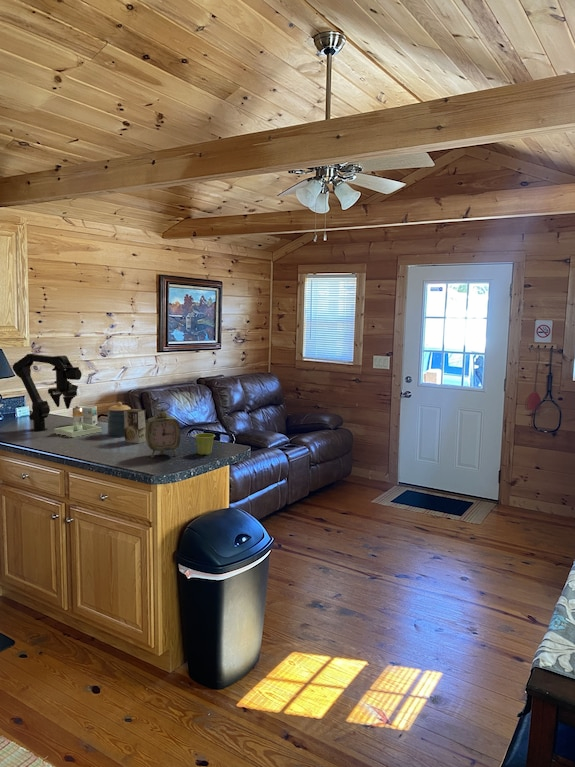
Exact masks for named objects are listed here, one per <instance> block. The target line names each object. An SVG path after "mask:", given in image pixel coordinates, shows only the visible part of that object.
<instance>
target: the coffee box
mask: <svg viewBox="0 0 575 767" xmlns="http://www.w3.org/2000/svg"><path fill="white" fill-rule="evenodd" d="M146 411H147V410H146V409H137V408H131V409H129V410H125V411H124V426H125V436H124V442H126V443H133V444H142V443H145V442H147V441H146V434H145V431H146V422H147V417H146V416H147V413H146Z"/></svg>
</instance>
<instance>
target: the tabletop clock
mask: <svg viewBox="0 0 575 767" xmlns="http://www.w3.org/2000/svg"><path fill="white" fill-rule="evenodd" d="M160 404H161V405H162V404H166V405H167V406H168V408H165V409H164V407H161V408H160V409H158V408H157V406H158V405H160ZM170 407H171V405H170V403H168V402H166V401H158V402H157V403H155V405H154V410H155V411H157V412H158V413H156V416H153V417H149V418H148V419H146V431H145V434H146V441H145V442H146V443H147V446H148V447H149V449H150V450H152V454H150V458H152V459H153V458H154V457H155V455H154V454H155V451H156V452H157V451H158V452H159V451H160V452H159V454H160V455H161V456H162V455H164V451H169V450H172V452H173V456H175V457H176V456H178V452H177V451H176V450H175V449H177V448H179V445H180V443H181V427H180V422H179V420H178V419H177V418H175V417H174V416H171V415H170V416H169V415H168V413H167V412H166V411H168V410H169V409H170Z"/></svg>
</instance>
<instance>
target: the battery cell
mask: <svg viewBox="0 0 575 767" xmlns="http://www.w3.org/2000/svg"><path fill="white" fill-rule="evenodd" d="M80 406H81V405H76V406H75V407H72V425H73V432H76V431H81V430H83V408H82V407H80Z"/></svg>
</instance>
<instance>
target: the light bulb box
mask: <svg viewBox="0 0 575 767" xmlns="http://www.w3.org/2000/svg"><path fill="white" fill-rule="evenodd" d="M79 406H80V407H82V408H83V424H89V425H94V426H97V425H98V409H97V407H98V406H96V405H95V406H94V405H92V406H91V405H79ZM96 424H97V425H96Z"/></svg>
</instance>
